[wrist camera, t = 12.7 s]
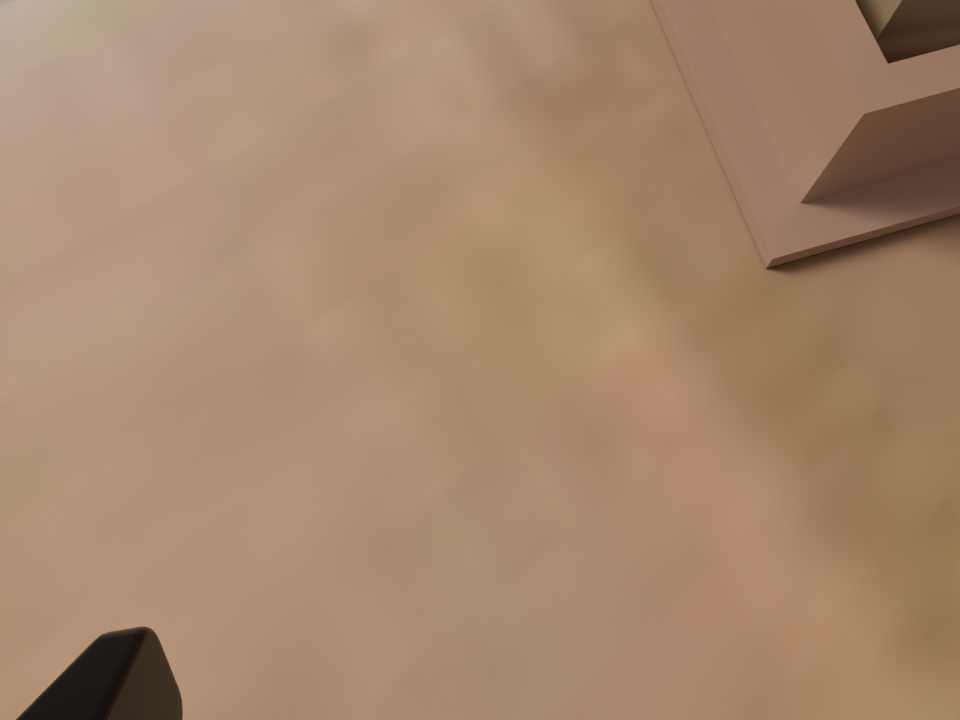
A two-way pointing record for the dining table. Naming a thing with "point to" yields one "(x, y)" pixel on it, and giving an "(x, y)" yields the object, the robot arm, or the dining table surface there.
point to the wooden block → (912, 26)
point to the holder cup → (819, 120)
